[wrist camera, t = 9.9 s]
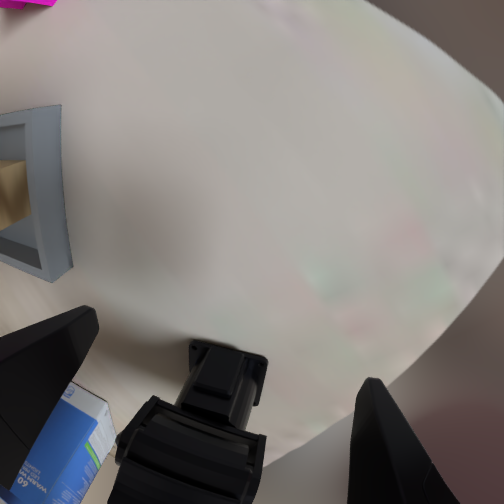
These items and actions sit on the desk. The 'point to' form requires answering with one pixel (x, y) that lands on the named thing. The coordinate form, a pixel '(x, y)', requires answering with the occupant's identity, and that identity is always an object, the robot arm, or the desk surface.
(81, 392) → the string lights box
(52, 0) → the toy block
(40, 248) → the tray
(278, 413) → the desk surface
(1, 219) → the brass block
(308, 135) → the desk surface
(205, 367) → the robot arm
